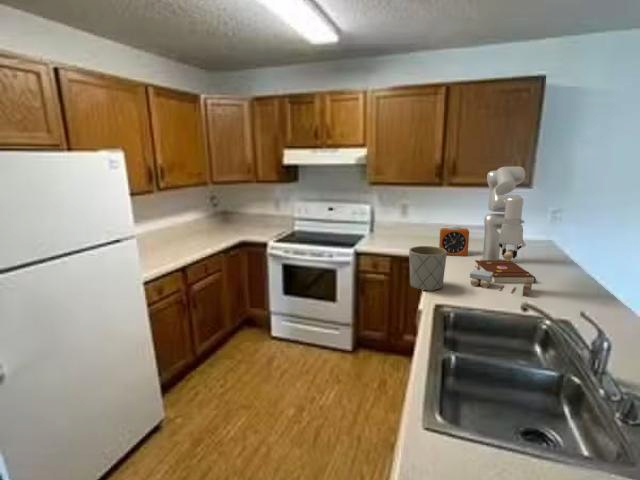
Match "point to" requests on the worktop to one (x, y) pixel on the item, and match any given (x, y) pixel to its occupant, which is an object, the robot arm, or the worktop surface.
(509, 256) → the roller
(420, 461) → the worktop surface
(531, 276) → the book
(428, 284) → the planter
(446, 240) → the alarm clock
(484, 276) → the slab
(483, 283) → the bed rollers
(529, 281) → the stop block
